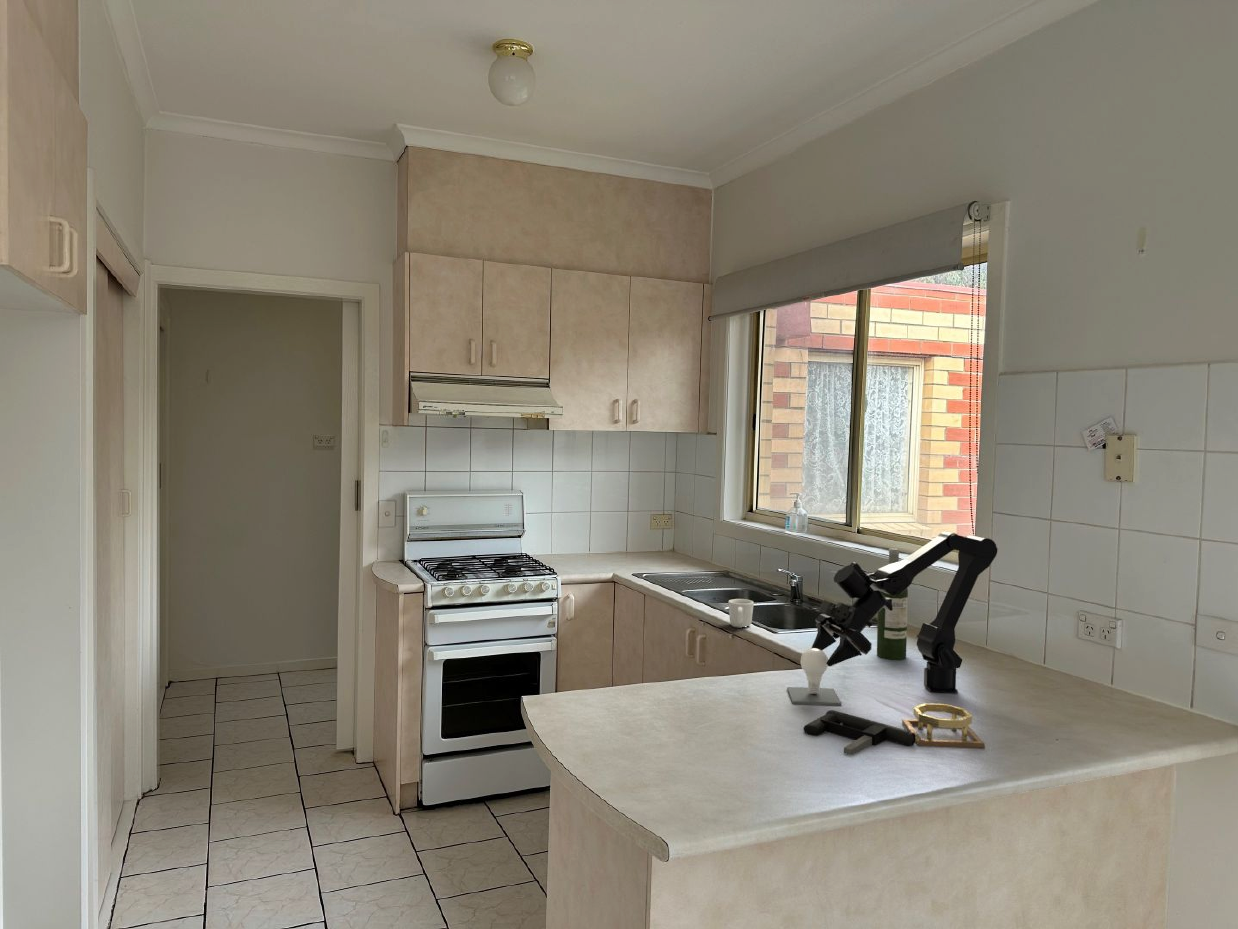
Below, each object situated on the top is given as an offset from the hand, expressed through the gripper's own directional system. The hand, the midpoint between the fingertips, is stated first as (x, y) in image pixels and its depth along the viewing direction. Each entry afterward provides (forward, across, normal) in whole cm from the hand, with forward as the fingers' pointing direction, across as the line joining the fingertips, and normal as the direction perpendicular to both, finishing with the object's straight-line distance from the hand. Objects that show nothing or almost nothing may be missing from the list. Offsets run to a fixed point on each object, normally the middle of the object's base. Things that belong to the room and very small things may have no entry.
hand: (819, 659), depth 207 cm
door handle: (+10, +27, +3) cm, 29 cm away
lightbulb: (+7, 0, +5) cm, 9 cm away
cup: (+2, -71, +11) cm, 72 cm away
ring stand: (-4, +29, +16) cm, 33 cm away
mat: (+7, 0, +5) cm, 9 cm away
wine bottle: (-19, -30, +32) cm, 48 cm away
